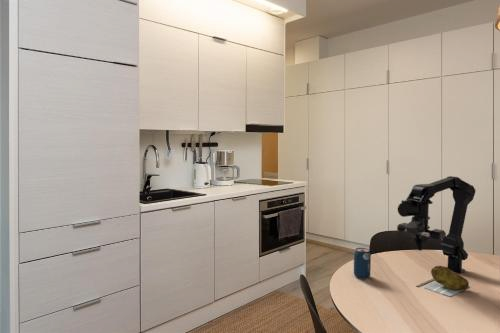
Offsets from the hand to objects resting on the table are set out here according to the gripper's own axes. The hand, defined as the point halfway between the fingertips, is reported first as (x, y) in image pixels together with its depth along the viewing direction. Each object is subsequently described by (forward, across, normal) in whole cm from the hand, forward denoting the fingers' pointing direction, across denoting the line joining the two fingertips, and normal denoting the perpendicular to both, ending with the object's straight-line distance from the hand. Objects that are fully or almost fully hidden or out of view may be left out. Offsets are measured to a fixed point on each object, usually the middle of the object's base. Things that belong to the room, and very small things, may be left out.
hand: (420, 250), depth 157 cm
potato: (+12, +13, -2) cm, 18 cm away
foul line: (+12, +5, -2) cm, 13 cm away
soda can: (+12, -15, -20) cm, 27 cm away
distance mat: (+12, +13, -2) cm, 17 cm away
